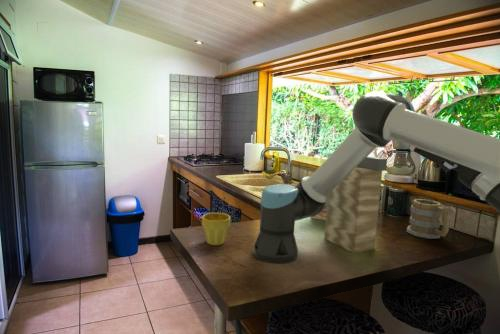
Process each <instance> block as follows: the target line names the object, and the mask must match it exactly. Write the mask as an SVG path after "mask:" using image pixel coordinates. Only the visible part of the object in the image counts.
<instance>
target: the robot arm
mask: <svg viewBox="0 0 500 334" xmlns="http://www.w3.org/2000/svg"><path fill="white" fill-rule="evenodd" d="M352 120H353V123H354V129H353V130H352V131H351V132H350V134H349V135H348V136H347V137H346V138H345V139H344V140H343V141H342V142H341V143H340V144H339V146H338V147H336V148H337V149H336V150H334V151H333V152H332V153H331V154H330V155H329V156H328V157H327V158H326V159H325V160H324V162H323V163H322V164H320V166H318V168H317V169H316V170H315V171H314V172H313V173H312V174H311V176H309V175H307V176H304V177H303V178H302V179H301V180H300V181H299V182H298V183H297V184H295V186H294V185H292V184H291V185H290V184H286V183H285V184H283V183H280V184H272V185H268V186H266V187H264V188H263V189H262V191H261V198H260V212H259V213H260V214H259V217H260V218H259V219H260V220H259V232H258V235H257V236H256V240H255V242H254V245H253V256H254V257H255V258H256V259H258V260H261V261H262V262H267V263H269V264H270V263H271V264H273V263H274V264H287V263H288V264H289V263H291V262H294V261H296V260H297V259H298V256H299V248H298V243H297V241H296V237H295V226H296V225H295V222H297V221H302V220H304V219H307V218H311V217H313V216H316V215H318V214H319V213H321V212H322V211H323V210H324V208H325V206H326V202H327V201H328V200H329V193H330V192H331V191H332V190H333V189H334V188H335V187H336V186H337V185H338V184H339V183H340V182H341V181H342V180H343V179H345V178H346V177H347V176H348V175H349V174H350V173H351V172H352V171H353V170H354V169H355V168H356V167H357V166H358V165H359V164H360V163H361V162H362V161H363V160H364V159H365V158H366V157H367V156H370V155H371V153H373V152H374V151H375V149H377V148H385V147H386V146H387V145H388V144H389V143H390V142H392V140H397V141H398V142H402V143H403V144H406V145H409V146H412V147H414V149H413V152H414V153H416V154H418V155H419V156H422V157H423V158H425V159H427V160H429V161H430V162H433V163H434V164H436V165H437V166H440V167H441V168H442V169H443V170H445V171H446V172H450V171H452V170H453V171H456V172H458V176H457V179H458V181H459V182H460V183H461V184H462V185H464V186H465V187H466V188H468V189H469V190H471V191H472V192H473V193H475V195H476V196H477V197H479V200H481V201H484V202H486V203H487V204H488V205H490V206H491V207H493V209H495V211H497V212H498V213H500V138H497V137H494V136H491V135H488V134H484V133H482V132H478V131H475V130H472V129H470V128H466V127H462V126H461V125H460V126H459V125H456V124H454V123H451V122H447V121H445V120H441V119H438V118H434V117H431V116H429V115H426V114H422V113H421V112H420V113H419V112H416V111H415V108H414V106H413V103H412V102H411V101H410V100H409V99H408V98H406V97H404V96H402V95H400V94H396V93H395V94H394V93H387V92H383V91H371V92H368V93H365V94H363V95H362V96H360V97H359V98H358V99H357V101H355V104H354V105H353V108H352Z"/></svg>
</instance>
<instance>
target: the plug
mask: <svg viewBox="0 0 500 334" xmlns="http://www.w3.org/2000/svg"><path fill="white" fill-rule="evenodd" d="M337 148H338V147H335V150H336V149H337ZM335 150H334V151H335ZM387 163H388V158H382V157H378V156H377V157H376V156H371V155H368V156H367V157H366V158H365V159H364V160H363V161H362V162H361V163H360V164H359V165H358V166H357V167H359V168H365V169H370V170H375V171H382V172H385V171H387Z"/></svg>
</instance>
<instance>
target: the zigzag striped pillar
mask: <svg viewBox="0 0 500 334" xmlns="http://www.w3.org/2000/svg"><path fill="white" fill-rule="evenodd" d="M382 176H383V171H375V170H370V169H365V168H359V167H356V168H355V169H354V170H353V171H352V172H351V173H350V174H349V175H348V176H347V177H346V178H345V179H343V180H342V181H341V182H340V183H339V184H338V185H337V186H336V187H335V188H334V189H333V190H332V191H331V192H330V193H329V200H328V201H327V212H326V220H325V228H324V239H325V240H327V241H329V242H331V243H332V244H336V245H337V246H339V247H341V248H343V249H345V250H348V251H350V252H352V253H353V254H358V253H362V252H368V251H371V250H375V247H376V238H377V226H378V218H379V209H380V208H379V207H380V206H379V205H380V197H381V188H382V187H381V186H382V178H383V177H382Z"/></svg>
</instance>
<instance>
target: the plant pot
mask: <svg viewBox="0 0 500 334" xmlns="http://www.w3.org/2000/svg"><path fill="white" fill-rule="evenodd" d="M231 220H232V219H231V215H229V214H228V213H223V212H209V213H205V214H203V215H202V216H201V227H202V228H203V231H204V234H205V235H204V237H205V239H206V243H207V244H208V245H211V246H220V245H223V244H224V243H225V242H226V237H227V233H228V230H229V228H230V226H231Z"/></svg>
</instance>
